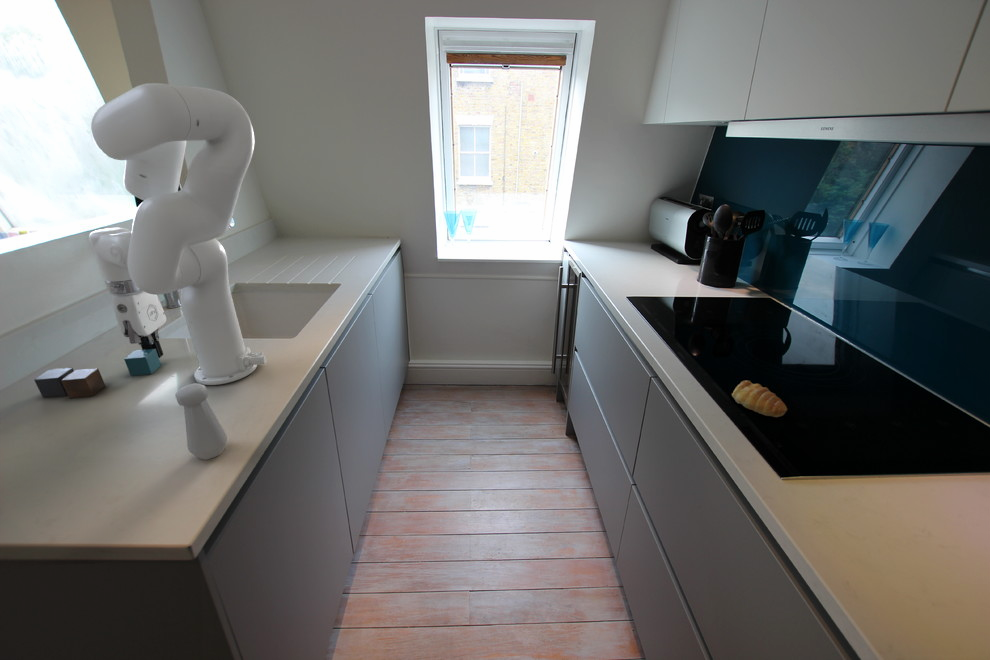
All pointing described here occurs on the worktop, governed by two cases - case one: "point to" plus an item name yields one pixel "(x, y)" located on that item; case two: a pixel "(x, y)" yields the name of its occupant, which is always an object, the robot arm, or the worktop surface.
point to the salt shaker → (201, 423)
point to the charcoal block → (52, 382)
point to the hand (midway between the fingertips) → (154, 356)
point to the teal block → (142, 362)
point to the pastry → (759, 399)
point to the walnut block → (83, 383)
